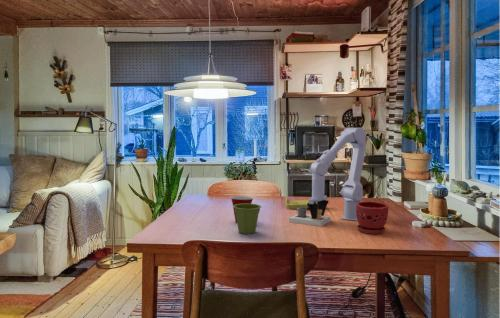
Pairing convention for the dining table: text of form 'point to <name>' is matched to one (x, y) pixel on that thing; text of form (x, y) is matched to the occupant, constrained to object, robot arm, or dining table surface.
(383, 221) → the plant pot
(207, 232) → the dining table surface
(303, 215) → the charcoal flared cup
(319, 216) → the tan rubber stopper
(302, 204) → the plastic component
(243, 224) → the plant pot
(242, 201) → the plastic cup
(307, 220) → the housing
